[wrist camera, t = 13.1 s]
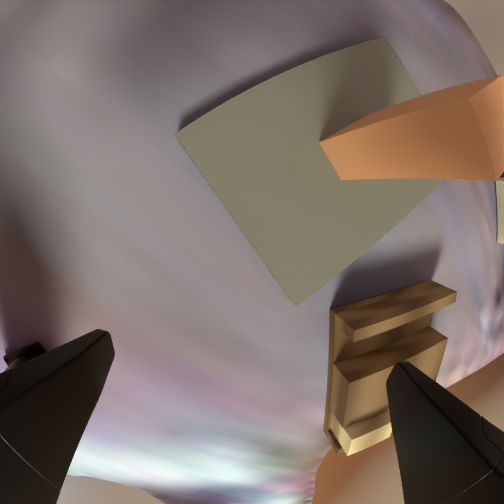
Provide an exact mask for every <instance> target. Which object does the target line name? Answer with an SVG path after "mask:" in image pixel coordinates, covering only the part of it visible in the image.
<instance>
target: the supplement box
mask: <svg viewBox="0 0 504 504" xmlns="http://www.w3.org/2000/svg"><path fill="white" fill-rule="evenodd" d="M495 183H496V196H497V242H499V243H502V244H504V177H503V178H499V179H498V181H495Z"/></svg>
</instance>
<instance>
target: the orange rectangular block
mask: <svg viewBox="0 0 504 504" xmlns="http://www.w3.org/2000/svg"><path fill="white" fill-rule="evenodd" d="M319 143H320V145H321V146H322V148H323V150H324V151H325V153H326V155H327V157H328V158H329V160H330V162H331V163H332V165H333V167H334V169H335V170H336V172H337V174H338V176H339V178H340V179H341V180H359V179H397V178H429V179H465V180H483V181H498V179H499V178H500V176H501V175H502V173H503V172H504V77H503V75H499V76H494V77H490V78H485V79H481V80H476V81H472V82H468V83H464V84H460V85H457V86H453V87H449V88H446V89H442V90H439V91H435V92H432V93H429V94H426V95H422V96H419V97H416V98H413V99H410V100H407V101H404V102H401V103H398V104H395V105H392V106H390V107H387V108H384V109H381V110H379V111H376V112H373V113H370V114H368V115H366V116H364V117H362V118H361V119H359V120H357V121H355V122H353V123H352V124H350V125H348V126H346V127H345V128H343V129H341V130H339V131H338V132H336V133H334V134H333V135H331V136H329V137H327V138H326V139H324V140H322V141H321V142H319Z"/></svg>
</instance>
